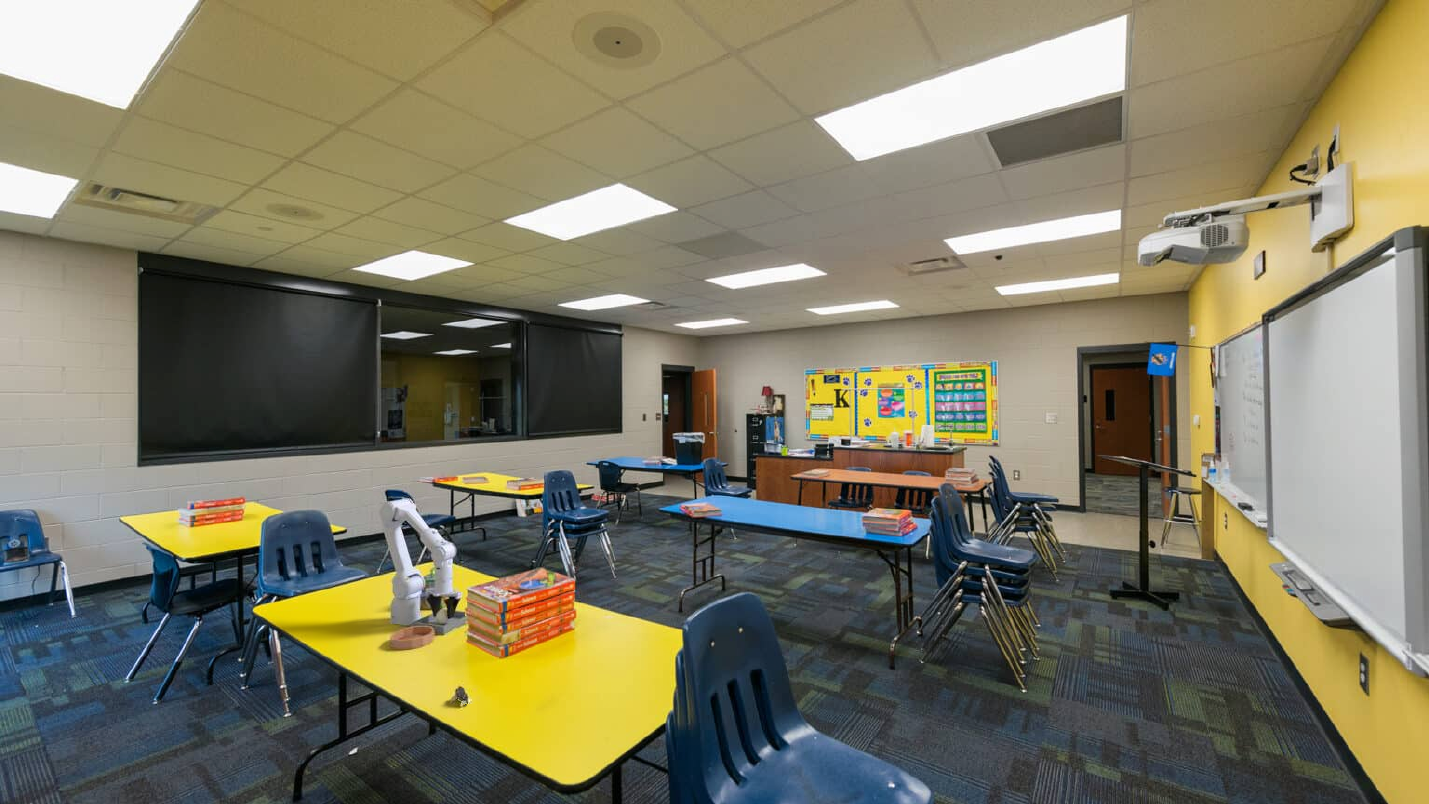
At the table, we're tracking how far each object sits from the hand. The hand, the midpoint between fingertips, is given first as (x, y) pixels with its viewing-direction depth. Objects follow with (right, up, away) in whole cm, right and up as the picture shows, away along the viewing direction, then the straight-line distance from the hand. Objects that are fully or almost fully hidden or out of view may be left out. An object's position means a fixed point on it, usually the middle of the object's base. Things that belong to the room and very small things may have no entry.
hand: (443, 617), depth 201 cm
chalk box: (-13, -4, +20) cm, 24 cm away
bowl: (-3, -3, -15) cm, 15 cm away
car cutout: (+34, -2, -56) cm, 66 cm away
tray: (0, -3, 0) cm, 3 cm away
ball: (0, 0, 0) cm, 0 cm away
